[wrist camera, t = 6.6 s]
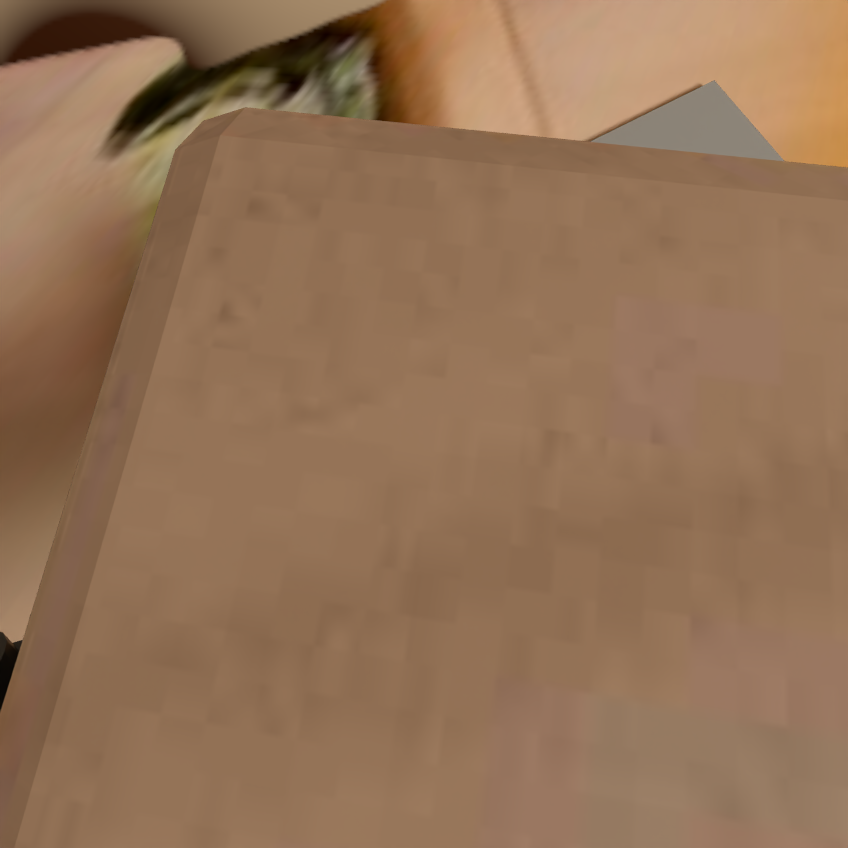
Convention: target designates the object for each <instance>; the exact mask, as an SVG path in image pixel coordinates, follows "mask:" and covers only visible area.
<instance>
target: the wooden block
mask: <svg viewBox="0 0 848 848" xmlns="http://www.w3.org/2000/svg"><path fill="white" fill-rule="evenodd" d="M0 848H848V168H846V167H836V166H826V165H816V164H806V163H796V162H786V161H776V160H766V159H756V158H746V157H736V156H726V155H716V154H706V153H696V152H686V151H676V150H666V149H656V148H646V147H636V146H626V145H616V144H606V143H596V142H586V141H576V140H566V139H556V138H546V137H536V136H526V135H516V134H506V133H496V132H486V131H476V130H466V129H456V128H446V127H436V126H426V125H416V124H406V123H396V122H386V121H376V120H366V119H356V118H346V117H336V116H326V115H316V114H306V113H296V112H286V111H276V110H266V109H256V108H246V107H245V108H242V109H239V110H236V111H233V112H230V113H226V114H223V115H220V116H217V117H214V118H211V119H208V120H204V121H203V122H202V123H201V124H200V125H199V126H198V127H197V128H196V129H195V130H194V131H193V132H192V133H191V134H190V135H189V136H188V137H187V138H186V139H185V140H184V141H183V143H182V144H181V145H180V146H179V147H178V148H177V149H176V150H175V153H174V156H173V159H172V162H171V165H170V169H169V172H168V175H167V178H166V182H165V185H164V188H163V191H162V194H161V198H160V201H159V204H158V207H157V210H156V214H155V217H154V220H153V223H152V227H151V230H150V233H149V236H148V239H147V243H146V246H145V249H144V252H143V255H142V259H141V262H140V265H139V268H138V271H137V275H136V278H135V281H134V284H133V288H132V291H131V294H130V297H129V300H128V304H127V307H126V310H125V313H124V316H123V320H122V323H121V326H120V329H119V333H118V336H117V339H116V342H115V345H114V349H113V352H112V355H111V358H110V361H109V365H108V368H107V371H106V374H105V378H104V381H103V384H102V387H101V390H100V394H99V397H98V400H97V403H96V406H95V410H94V413H93V416H92V419H91V422H90V426H89V429H88V432H87V435H86V439H85V442H84V445H83V448H82V451H81V455H80V458H79V461H78V464H77V467H76V471H75V474H74V477H73V480H72V484H71V487H70V490H69V493H68V496H67V500H66V503H65V506H64V509H63V512H62V516H61V519H60V522H59V525H58V529H57V532H56V535H55V538H54V541H53V545H52V548H51V551H50V554H49V557H48V561H47V564H46V567H45V570H44V574H43V577H42V580H41V583H40V586H39V590H38V593H37V596H36V599H35V602H34V606H33V609H32V612H31V615H30V618H29V622H28V625H27V628H26V631H25V635H24V638H23V641H22V644H21V647H20V651H19V654H18V657H17V660H16V663H15V667H14V670H13V673H12V676H11V680H10V683H9V686H8V689H7V692H6V696H5V699H4V702H3V705H2V708H1V712H0Z"/></svg>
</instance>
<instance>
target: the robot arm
mask: <svg viewBox="0 0 848 848" xmlns="http://www.w3.org/2000/svg"><path fill="white" fill-rule="evenodd" d="M29 618H30V617H29ZM22 641H23V640H21V641H17V642H14V643H12V642H11V641H10V640H9V639H8V638H7V637H6V636H5V635H4V633H2V632H0V712H1V708H2V705H3V702H4V699H5V696H6V692H7V689H8V686H9V683H10V680H11V676H12V673H13V670H14V667H15V663H16V660H17V657H18V654H19V651H20V647H21V644H22Z"/></svg>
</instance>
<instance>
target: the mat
mask: <svg viewBox="0 0 848 848" xmlns="http://www.w3.org/2000/svg"><path fill="white" fill-rule="evenodd" d="M590 142H596V143H606V144H616V145H626V146H636V147H646V148H656V149H666V150H676V151H686V152H696V153H706V154H716V155H726V156H736V157H746V158H756V159H766V160H776V161H784V160H783V159H782V158H781V157H780V156H779V154H778V153H777V152H776V151H775V150H774V149H773V147H772V146H771V145H770V144H769V143H768V142H767V141H766V139H765V138H764V137H763V136H762V135H761V134H760V132H759V131H758V130H757V129H756V128H755V127H754V126H753V124H752V123H751V122H750V121H749V120H748V119H747V117H746V116H745V115H744V114H743V113H742V112H741V111H740V109H739V108H738V107H737V106H736V105H735V104H734V102H733V101H732V100H731V99H730V98H729V97H728V96H727V94H726V93H725V92H724V91H723V90H722V89H721V87H720V86H719V85H718V84H717V83H716V82H715V81H712V82H710V83H708V84H706V85H704V86H702V87H700V88H698V89H696V90H694V91H692V92H690V93H687V94H685V95H683V96H681V97H679V98H677V99H675V100H673V101H671V102H669V103H667V104H665V105H663V106H661V107H659V108H657V109H655V110H653V111H651V112H649V113H647V114H645V115H643V116H641V117H639V118H637V119H635V120H633V121H631V122H629V123H627V124H625V125H623V126H621V127H619V128H617V129H615V130H613V131H611V132H609V133H606V134H604V135H602V136H600V137H598V138H596V139H594V140H592V141H590Z"/></svg>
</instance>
